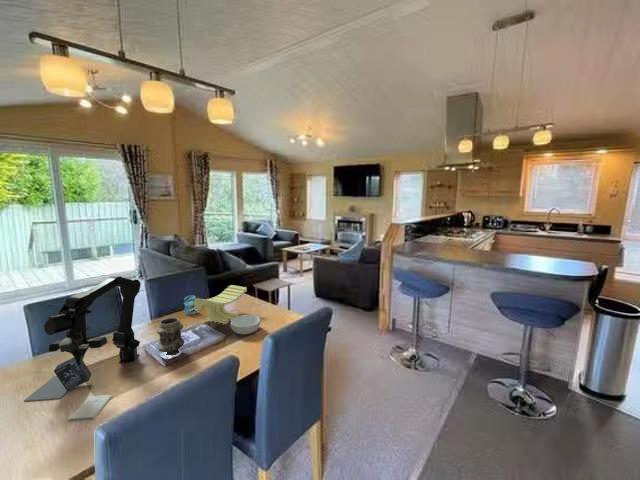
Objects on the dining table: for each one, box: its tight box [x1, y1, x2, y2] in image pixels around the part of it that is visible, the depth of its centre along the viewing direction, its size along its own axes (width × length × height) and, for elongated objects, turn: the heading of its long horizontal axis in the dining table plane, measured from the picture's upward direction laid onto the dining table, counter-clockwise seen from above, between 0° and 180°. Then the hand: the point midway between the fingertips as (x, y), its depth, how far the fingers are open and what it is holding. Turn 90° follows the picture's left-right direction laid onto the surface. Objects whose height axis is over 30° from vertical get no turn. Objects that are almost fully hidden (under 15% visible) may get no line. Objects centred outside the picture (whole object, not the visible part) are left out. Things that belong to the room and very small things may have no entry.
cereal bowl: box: [230, 314, 261, 336], centre depth 178 cm, size 17×17×7 cm
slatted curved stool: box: [193, 284, 248, 325], centre depth 196 cm, size 30×16×18 cm, turn 154°
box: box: [53, 356, 92, 392], centre depth 126 cm, size 8×6×11 cm
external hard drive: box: [68, 394, 113, 422], centre depth 114 cm, size 2×8×12 cm
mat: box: [23, 375, 71, 402], centre depth 127 cm, size 13×16×1 cm
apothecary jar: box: [155, 317, 185, 355], centre depth 152 cm, size 12×12×18 cm
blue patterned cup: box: [183, 294, 200, 316], centre depth 205 cm, size 8×8×12 cm
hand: (79, 364), depth 124 cm, fingers closed
